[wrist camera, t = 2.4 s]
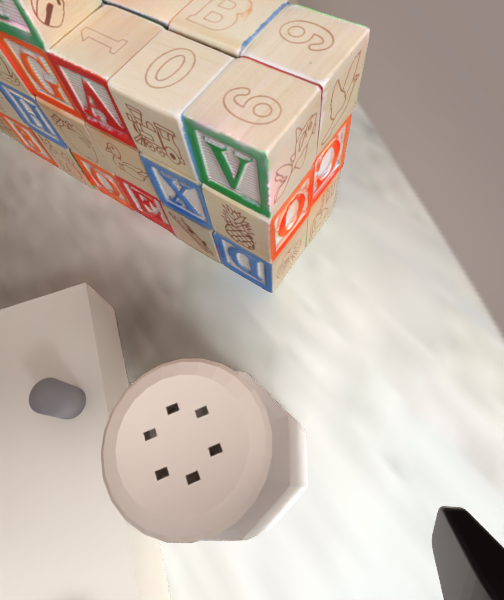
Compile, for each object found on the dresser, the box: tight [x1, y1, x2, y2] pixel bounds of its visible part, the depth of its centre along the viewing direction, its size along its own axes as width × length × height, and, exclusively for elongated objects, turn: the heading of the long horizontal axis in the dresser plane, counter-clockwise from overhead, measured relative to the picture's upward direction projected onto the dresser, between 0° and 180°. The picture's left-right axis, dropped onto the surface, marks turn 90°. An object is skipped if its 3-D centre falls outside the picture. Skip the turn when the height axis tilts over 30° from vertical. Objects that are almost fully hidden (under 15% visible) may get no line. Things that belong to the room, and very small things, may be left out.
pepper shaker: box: [101, 358, 308, 543], centre depth 11 cm, size 5×5×11 cm
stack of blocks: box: [0, 0, 370, 293], centre depth 17 cm, size 21×6×12 cm, turn 55°
